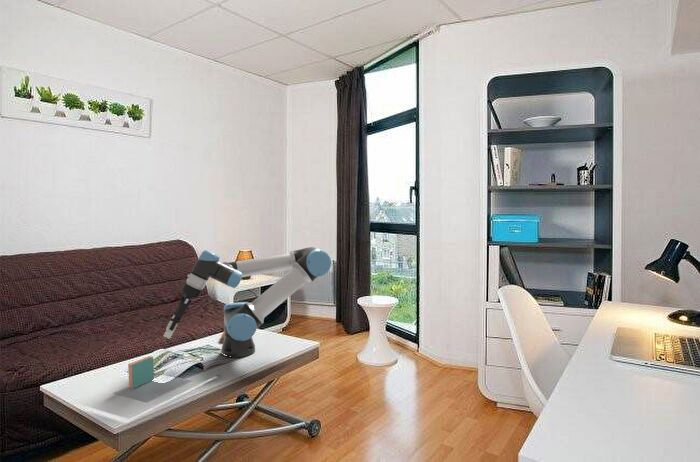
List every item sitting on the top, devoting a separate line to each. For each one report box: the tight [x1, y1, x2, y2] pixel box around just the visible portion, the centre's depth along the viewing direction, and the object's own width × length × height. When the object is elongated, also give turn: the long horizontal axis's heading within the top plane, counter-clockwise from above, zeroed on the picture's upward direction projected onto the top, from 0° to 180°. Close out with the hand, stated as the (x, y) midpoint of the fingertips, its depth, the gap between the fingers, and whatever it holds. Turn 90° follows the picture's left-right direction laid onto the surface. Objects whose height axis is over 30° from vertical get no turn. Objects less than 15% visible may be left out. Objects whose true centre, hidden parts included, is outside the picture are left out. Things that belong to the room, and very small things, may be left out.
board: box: [113, 376, 193, 403], centre depth 158 cm, size 18×20×1 cm
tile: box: [127, 355, 155, 389], centre depth 160 cm, size 2×9×9 cm, turn 153°
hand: (167, 333), depth 172 cm, fingers open, 13 cm apart
